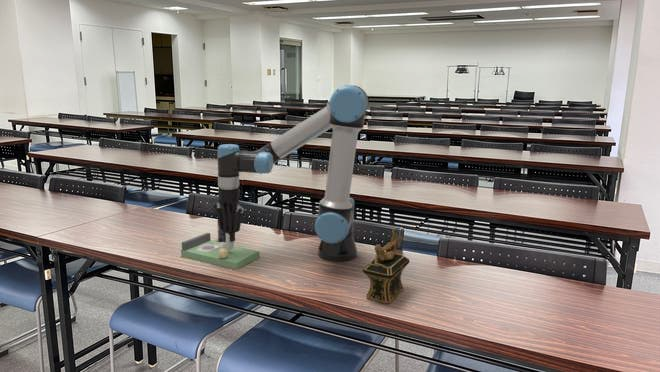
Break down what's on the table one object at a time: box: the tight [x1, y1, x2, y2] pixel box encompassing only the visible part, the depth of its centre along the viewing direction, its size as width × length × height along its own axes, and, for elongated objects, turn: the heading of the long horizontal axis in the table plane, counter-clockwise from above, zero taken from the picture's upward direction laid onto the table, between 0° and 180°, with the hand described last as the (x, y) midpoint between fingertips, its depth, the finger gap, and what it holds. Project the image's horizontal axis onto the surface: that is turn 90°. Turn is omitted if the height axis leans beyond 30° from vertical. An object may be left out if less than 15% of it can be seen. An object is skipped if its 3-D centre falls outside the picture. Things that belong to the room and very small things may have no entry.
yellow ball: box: [218, 248, 228, 258], centre depth 168 cm, size 4×4×4 cm
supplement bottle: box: [217, 223, 226, 243], centre depth 194 cm, size 6×6×11 cm
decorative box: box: [362, 228, 410, 304], centre depth 148 cm, size 20×10×20 cm, turn 151°
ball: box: [218, 242, 226, 250], centre depth 175 cm, size 4×4×4 cm
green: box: [180, 232, 261, 271], centre depth 176 cm, size 26×14×6 cm, turn 63°
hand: (229, 249), depth 174 cm, fingers closed
